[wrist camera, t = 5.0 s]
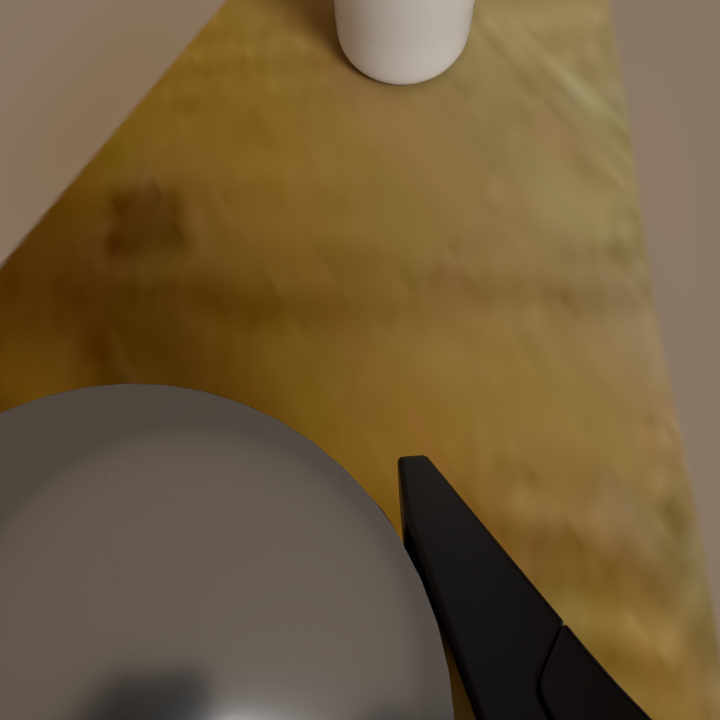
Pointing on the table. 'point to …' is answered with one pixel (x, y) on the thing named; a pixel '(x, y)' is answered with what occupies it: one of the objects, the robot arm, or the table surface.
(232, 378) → the table surface
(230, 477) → the tall pin
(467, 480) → the table surface
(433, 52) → the drinking glass
